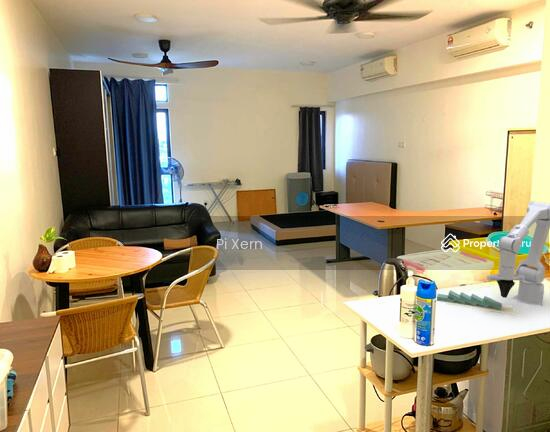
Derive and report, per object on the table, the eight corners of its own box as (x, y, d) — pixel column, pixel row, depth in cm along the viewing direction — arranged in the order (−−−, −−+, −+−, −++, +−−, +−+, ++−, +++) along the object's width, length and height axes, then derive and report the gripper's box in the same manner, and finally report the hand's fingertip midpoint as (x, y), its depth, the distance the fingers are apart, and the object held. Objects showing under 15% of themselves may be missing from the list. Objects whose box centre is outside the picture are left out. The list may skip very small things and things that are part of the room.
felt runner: (513, 307, 177) (513, 306, 177) (514, 315, 169) (514, 314, 169) (447, 297, 188) (447, 296, 188) (446, 304, 180) (446, 303, 180)
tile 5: (454, 296, 184) (437, 293, 187) (454, 299, 181) (437, 296, 183) (454, 299, 184) (437, 297, 187) (454, 302, 181) (436, 300, 184)
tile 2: (488, 301, 178) (472, 293, 181) (488, 305, 175) (472, 296, 177) (486, 304, 179) (470, 296, 181) (487, 308, 175) (470, 299, 178)
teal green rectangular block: (501, 303, 176) (484, 295, 179) (502, 307, 173) (484, 299, 175) (499, 306, 177) (483, 298, 179) (500, 310, 173) (483, 302, 176)
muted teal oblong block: (465, 298, 182) (450, 290, 184) (465, 301, 179) (449, 293, 181) (464, 301, 183) (448, 293, 185) (463, 304, 179) (448, 296, 181)
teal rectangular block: (477, 299, 180) (461, 291, 183) (477, 303, 177) (461, 295, 179) (475, 302, 181) (459, 294, 183) (475, 306, 177) (459, 298, 180)
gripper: (518, 262, 175) (515, 292, 178) (484, 262, 175) (481, 293, 178) (529, 267, 168) (525, 299, 171) (493, 268, 168) (490, 299, 171)
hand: (503, 296), depth 174 cm, fingers closed
